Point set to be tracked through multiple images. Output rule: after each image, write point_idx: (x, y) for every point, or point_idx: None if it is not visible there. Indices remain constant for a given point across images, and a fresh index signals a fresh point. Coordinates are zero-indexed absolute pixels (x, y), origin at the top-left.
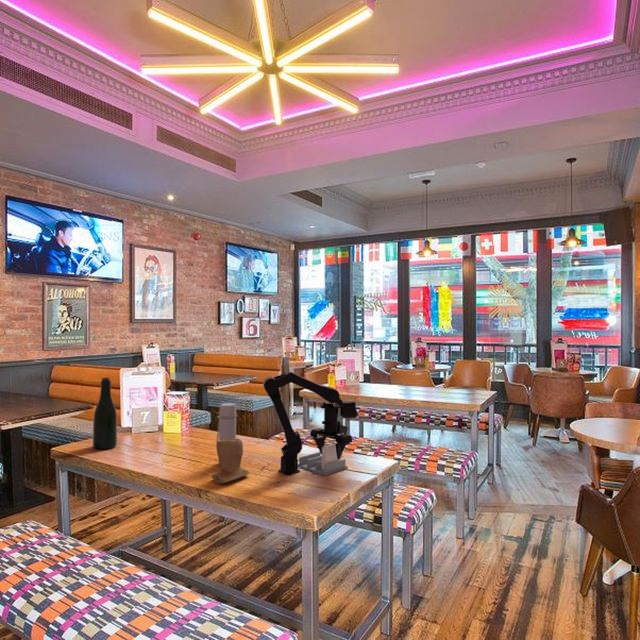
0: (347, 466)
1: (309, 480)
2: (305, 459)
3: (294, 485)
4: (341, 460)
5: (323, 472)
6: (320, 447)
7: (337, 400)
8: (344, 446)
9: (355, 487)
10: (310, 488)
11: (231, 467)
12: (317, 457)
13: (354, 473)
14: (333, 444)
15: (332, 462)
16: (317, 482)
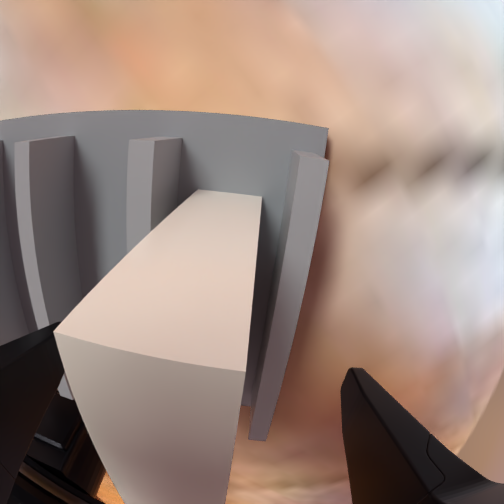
0: (326, 131)
1: (253, 463)
2: (5, 317)
3: (244, 499)
4: (313, 245)
5: (251, 396)
6: (31, 421)
7: None
8: (481, 492)
9: (485, 401)
10: (316, 494)
11: None
12: (46, 314)
13: (443, 229)
14: (105, 422)
15: (269, 368)
16: (303, 462)
